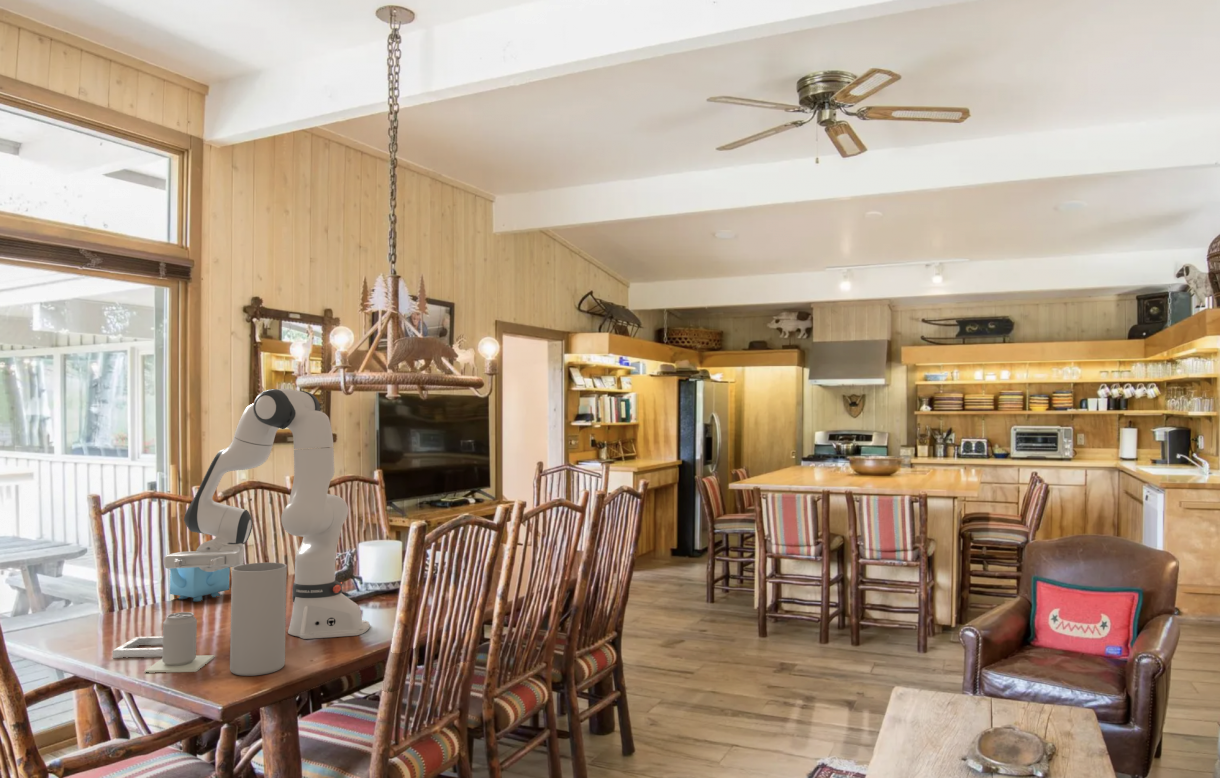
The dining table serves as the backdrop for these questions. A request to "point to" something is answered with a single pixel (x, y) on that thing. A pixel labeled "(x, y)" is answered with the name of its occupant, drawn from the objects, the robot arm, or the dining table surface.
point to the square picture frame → (132, 651)
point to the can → (179, 639)
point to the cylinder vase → (258, 618)
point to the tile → (190, 667)
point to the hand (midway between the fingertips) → (194, 563)
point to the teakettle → (198, 582)
